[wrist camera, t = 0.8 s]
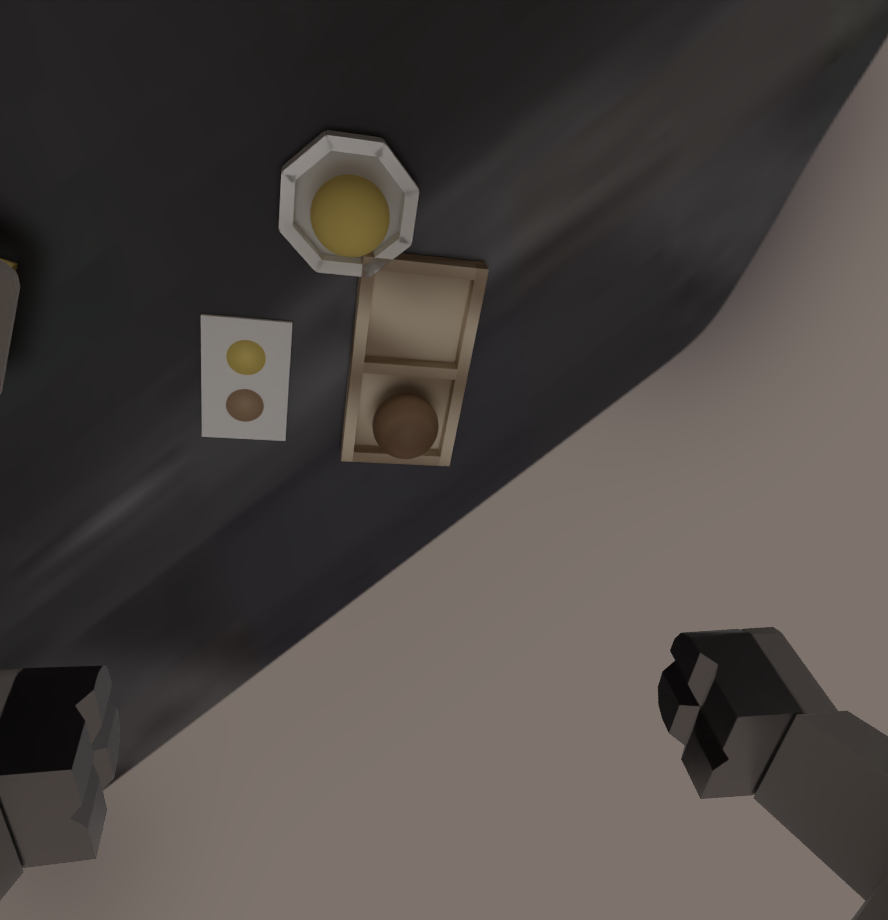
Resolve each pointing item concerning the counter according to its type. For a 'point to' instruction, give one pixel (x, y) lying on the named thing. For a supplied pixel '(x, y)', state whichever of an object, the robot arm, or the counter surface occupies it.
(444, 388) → the twin rack
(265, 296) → the counter surface
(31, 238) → the counter surface
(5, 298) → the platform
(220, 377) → the card
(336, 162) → the white bowl
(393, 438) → the walnut ball
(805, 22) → the counter surface
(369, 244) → the mustard ball
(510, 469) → the counter surface
